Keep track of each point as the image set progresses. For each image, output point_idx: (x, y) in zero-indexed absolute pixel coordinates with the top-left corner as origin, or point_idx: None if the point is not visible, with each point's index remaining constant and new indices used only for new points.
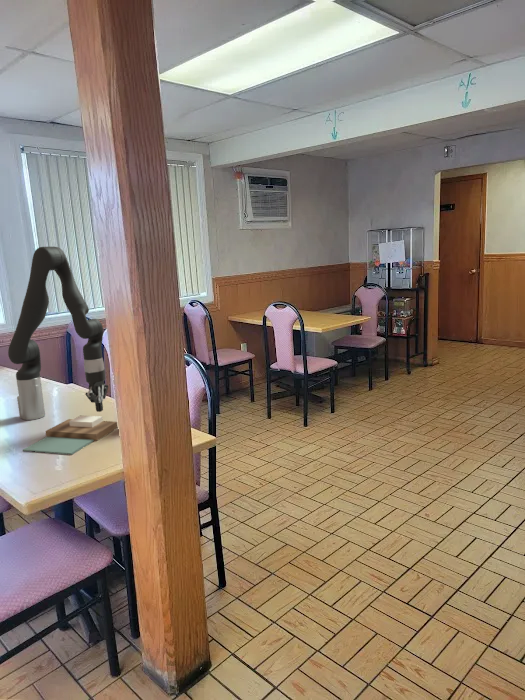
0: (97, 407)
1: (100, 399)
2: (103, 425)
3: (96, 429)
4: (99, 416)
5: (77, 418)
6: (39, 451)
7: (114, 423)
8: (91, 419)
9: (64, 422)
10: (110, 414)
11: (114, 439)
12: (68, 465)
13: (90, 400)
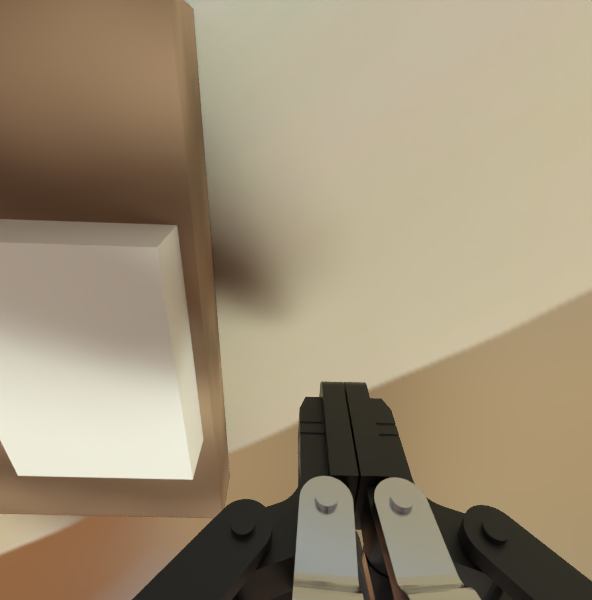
0: (299, 450)
1: (368, 571)
2: (120, 481)
3: (27, 477)
4: (187, 459)
5: (36, 285)
6: None
7: (189, 515)
8: (82, 438)
9: (16, 29)
10: (559, 296)
11: (57, 528)
12: None
13: (178, 562)
